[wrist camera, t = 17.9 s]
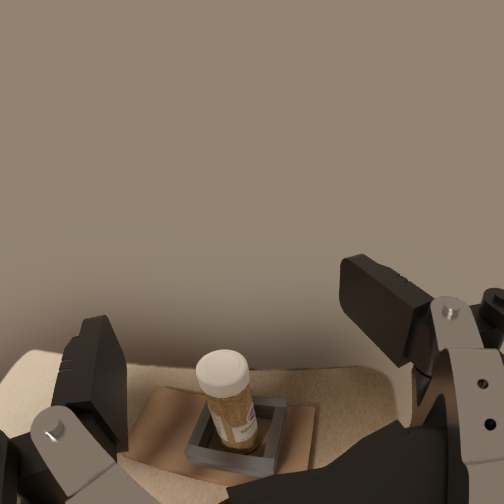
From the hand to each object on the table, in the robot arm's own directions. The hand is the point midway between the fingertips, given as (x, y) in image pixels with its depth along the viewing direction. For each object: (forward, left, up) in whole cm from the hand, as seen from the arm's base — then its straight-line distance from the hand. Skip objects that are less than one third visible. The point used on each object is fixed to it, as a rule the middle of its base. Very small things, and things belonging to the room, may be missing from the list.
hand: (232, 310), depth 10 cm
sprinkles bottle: (-6, +9, -27) cm, 29 cm away
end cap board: (-9, +10, -28) cm, 31 cm away
